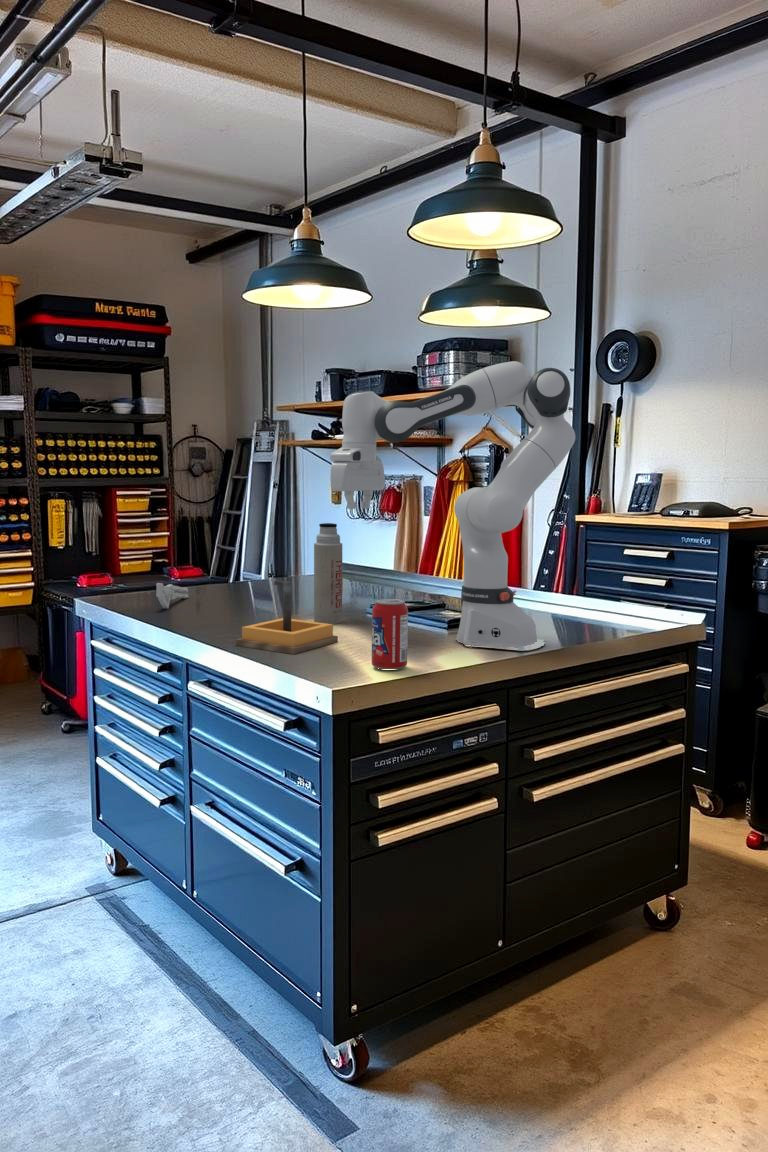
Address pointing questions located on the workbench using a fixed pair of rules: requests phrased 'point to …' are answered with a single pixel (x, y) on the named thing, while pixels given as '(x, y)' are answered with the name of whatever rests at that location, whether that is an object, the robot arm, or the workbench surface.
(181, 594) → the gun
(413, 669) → the workbench surface
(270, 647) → the wooden peg stand
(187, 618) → the workbench surface
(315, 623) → the loop
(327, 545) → the thermos bottle
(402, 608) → the soda can
